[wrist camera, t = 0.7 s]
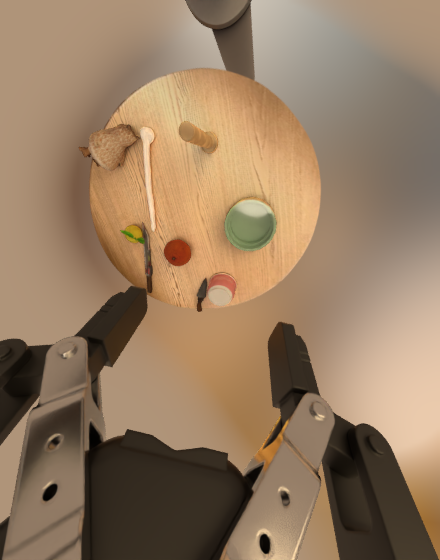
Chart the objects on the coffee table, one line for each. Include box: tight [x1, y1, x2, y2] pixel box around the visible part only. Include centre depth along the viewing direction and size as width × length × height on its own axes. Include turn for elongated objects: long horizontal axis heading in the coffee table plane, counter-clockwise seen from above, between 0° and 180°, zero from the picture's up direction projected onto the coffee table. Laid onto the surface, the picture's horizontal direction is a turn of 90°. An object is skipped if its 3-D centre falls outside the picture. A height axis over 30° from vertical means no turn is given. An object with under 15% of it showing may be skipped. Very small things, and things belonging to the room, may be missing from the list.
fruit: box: [164, 240, 191, 266], centre depth 62 cm, size 9×9×8 cm
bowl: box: [224, 197, 277, 251], centre depth 54 cm, size 14×14×6 cm
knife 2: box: [197, 278, 207, 312], centre depth 73 cm, size 17×2×5 cm
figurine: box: [79, 124, 139, 171], centre depth 49 cm, size 9×10×15 cm
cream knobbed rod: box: [140, 127, 156, 232], centre depth 54 cm, size 28×4×3 cm, turn 175°
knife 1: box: [142, 222, 153, 293], centre depth 70 cm, size 3×2×30 cm
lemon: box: [120, 225, 145, 244], centre depth 61 cm, size 7×6×10 cm
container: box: [207, 273, 237, 306], centre depth 66 cm, size 10×10×8 cm
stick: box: [179, 121, 218, 153], centre depth 40 cm, size 4×4×18 cm
